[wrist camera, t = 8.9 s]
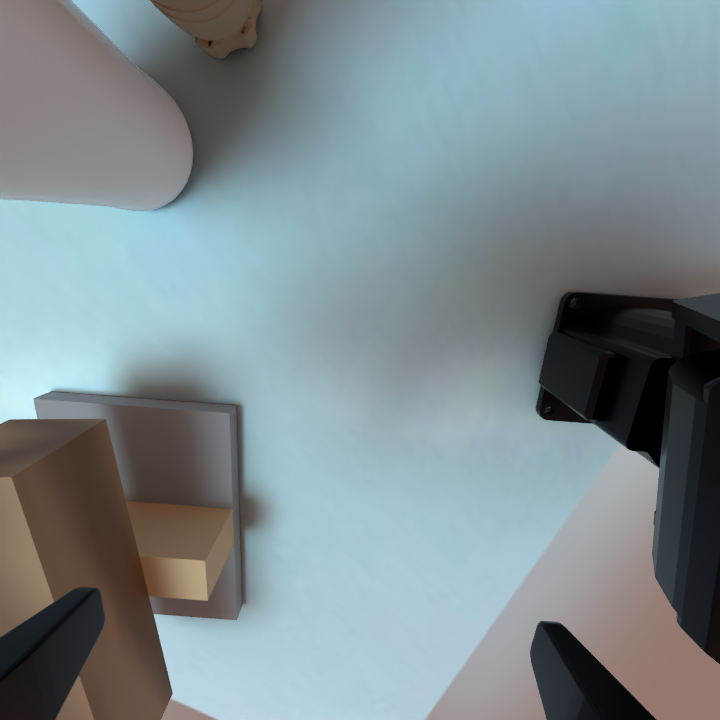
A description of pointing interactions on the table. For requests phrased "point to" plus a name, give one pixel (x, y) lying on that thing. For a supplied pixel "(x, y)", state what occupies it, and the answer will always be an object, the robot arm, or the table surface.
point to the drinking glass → (83, 115)
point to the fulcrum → (174, 494)
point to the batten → (79, 560)
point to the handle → (215, 22)
